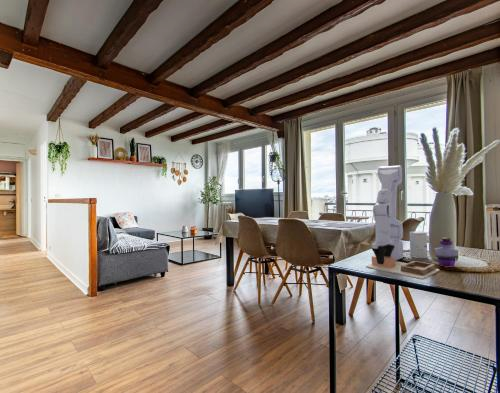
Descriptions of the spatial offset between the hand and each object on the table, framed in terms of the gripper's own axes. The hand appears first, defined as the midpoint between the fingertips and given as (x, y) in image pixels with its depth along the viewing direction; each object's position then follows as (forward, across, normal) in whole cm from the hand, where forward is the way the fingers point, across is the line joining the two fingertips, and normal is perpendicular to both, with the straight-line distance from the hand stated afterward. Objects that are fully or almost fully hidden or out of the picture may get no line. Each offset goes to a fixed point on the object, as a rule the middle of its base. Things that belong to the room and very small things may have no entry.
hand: (383, 262), depth 118 cm
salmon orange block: (+1, 0, 0) cm, 1 cm away
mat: (+2, +2, -6) cm, 7 cm away
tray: (+1, +3, -12) cm, 13 cm away
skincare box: (+2, +27, -3) cm, 27 cm away
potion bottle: (+2, +19, -17) cm, 26 cm away
